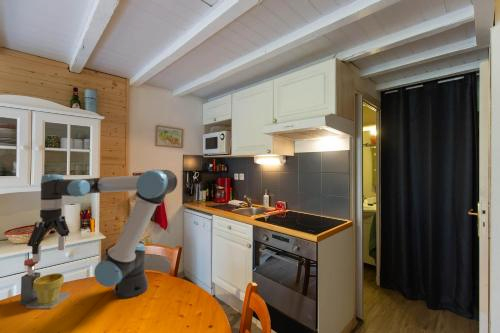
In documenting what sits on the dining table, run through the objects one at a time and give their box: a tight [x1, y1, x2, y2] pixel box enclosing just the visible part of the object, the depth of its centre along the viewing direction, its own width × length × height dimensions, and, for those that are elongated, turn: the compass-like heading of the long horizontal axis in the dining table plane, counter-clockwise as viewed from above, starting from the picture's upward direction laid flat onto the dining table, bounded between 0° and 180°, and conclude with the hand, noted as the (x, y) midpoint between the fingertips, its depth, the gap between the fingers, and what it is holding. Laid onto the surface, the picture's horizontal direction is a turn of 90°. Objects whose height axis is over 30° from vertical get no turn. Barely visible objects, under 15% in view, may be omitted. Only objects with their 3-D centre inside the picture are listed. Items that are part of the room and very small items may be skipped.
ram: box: [23, 257, 40, 276], centre depth 108 cm, size 5×5×13 cm
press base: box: [18, 271, 71, 310], centre depth 108 cm, size 16×11×12 cm, turn 91°
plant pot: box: [33, 273, 65, 304], centre depth 107 cm, size 10×10×10 cm
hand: (49, 255), depth 108 cm, fingers open, 13 cm apart
